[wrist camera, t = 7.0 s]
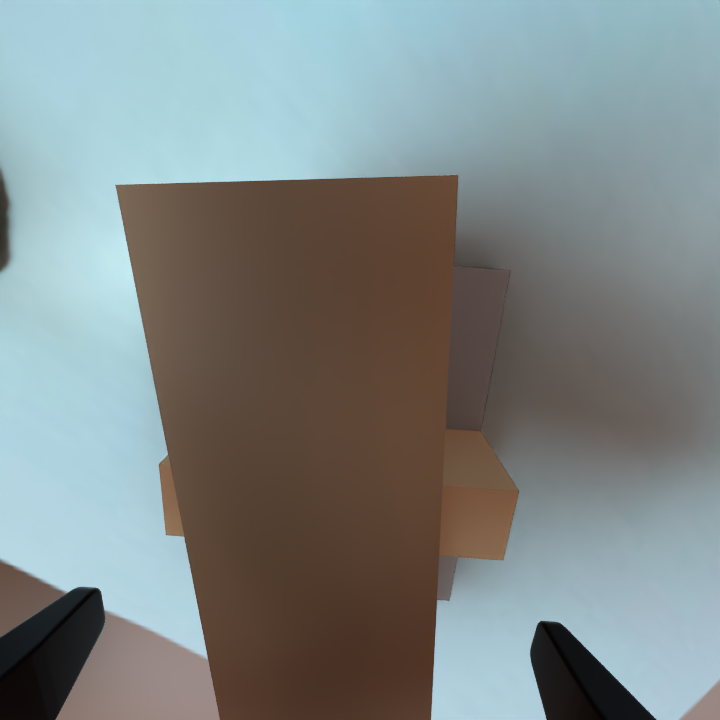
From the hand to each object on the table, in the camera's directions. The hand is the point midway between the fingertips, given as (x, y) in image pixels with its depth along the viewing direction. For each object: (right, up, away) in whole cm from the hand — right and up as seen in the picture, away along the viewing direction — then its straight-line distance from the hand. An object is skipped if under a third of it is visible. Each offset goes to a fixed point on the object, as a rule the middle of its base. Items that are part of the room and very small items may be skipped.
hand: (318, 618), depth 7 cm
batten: (0, +1, +3) cm, 3 cm away
